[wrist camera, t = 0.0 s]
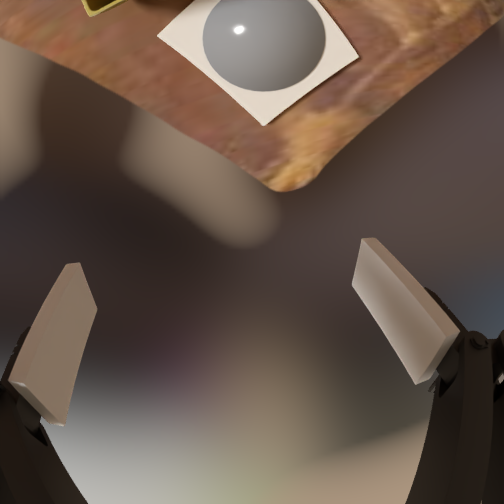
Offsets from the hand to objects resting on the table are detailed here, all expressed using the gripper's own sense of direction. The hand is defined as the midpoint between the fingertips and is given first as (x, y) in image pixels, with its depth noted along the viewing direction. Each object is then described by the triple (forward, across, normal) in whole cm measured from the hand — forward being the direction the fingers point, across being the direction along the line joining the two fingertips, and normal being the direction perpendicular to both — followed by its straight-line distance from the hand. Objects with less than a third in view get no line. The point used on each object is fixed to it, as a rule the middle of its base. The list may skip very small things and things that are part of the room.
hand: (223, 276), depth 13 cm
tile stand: (+24, +6, +15) cm, 29 cm away
